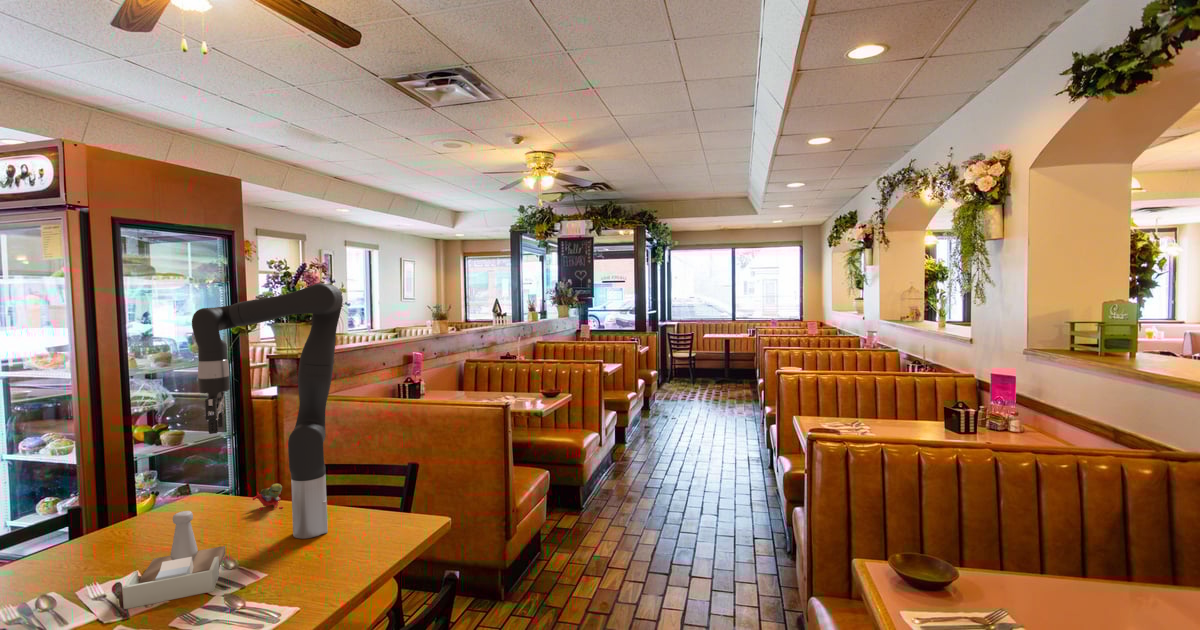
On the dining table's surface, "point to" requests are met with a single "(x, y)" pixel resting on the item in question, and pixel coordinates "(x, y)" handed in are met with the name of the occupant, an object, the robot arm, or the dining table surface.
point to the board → (199, 563)
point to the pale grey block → (173, 573)
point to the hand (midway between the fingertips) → (216, 430)
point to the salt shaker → (183, 537)
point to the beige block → (177, 564)
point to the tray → (169, 587)
